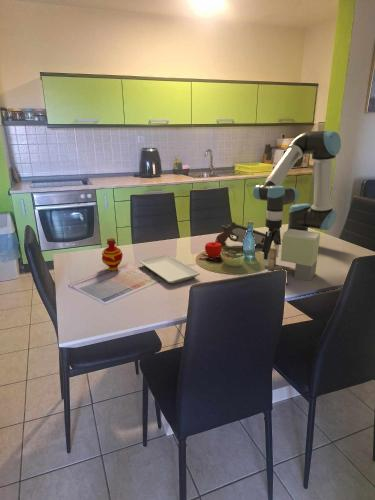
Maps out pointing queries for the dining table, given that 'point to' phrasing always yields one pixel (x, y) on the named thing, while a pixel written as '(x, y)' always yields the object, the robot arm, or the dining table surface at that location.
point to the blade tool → (273, 262)
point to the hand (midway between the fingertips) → (270, 261)
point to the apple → (213, 249)
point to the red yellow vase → (112, 255)
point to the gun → (239, 235)
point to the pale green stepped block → (301, 252)
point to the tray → (169, 268)
